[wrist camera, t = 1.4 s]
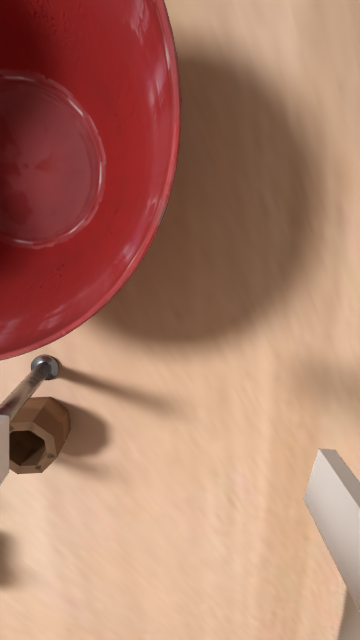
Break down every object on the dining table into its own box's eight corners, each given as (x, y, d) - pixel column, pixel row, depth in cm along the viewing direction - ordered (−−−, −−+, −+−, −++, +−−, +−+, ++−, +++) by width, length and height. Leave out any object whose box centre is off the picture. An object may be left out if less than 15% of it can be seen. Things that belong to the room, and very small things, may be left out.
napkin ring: (4, 422, 38) (-19, 450, 34) (36, 387, 37) (17, 410, 32) (48, 452, 40) (31, 483, 35) (80, 419, 39) (67, 446, 34)
